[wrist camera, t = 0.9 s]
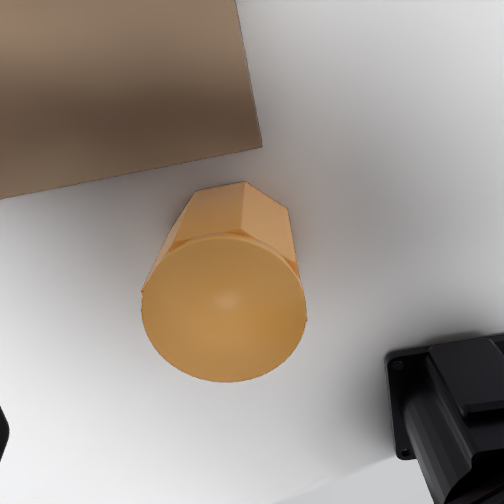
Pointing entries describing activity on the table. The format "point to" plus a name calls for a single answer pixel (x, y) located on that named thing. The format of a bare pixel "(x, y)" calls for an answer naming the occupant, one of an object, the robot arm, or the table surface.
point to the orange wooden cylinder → (226, 287)
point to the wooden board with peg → (118, 89)
